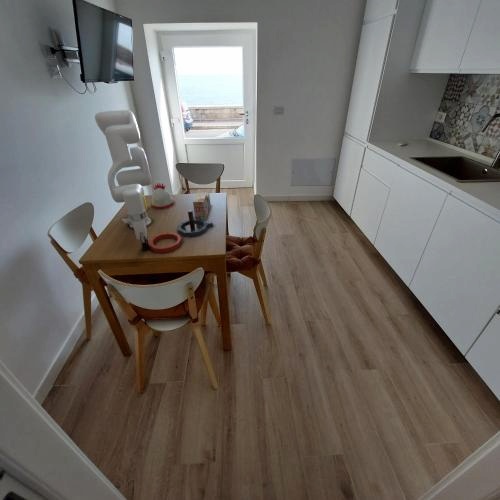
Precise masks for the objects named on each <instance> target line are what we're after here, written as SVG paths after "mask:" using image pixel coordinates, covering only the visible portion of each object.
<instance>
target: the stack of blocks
mask: <svg viewBox="0 0 500 500" xmlns="http://www.w3.org/2000/svg"><path fill="white" fill-rule="evenodd" d="M192 205H193V214H194V219H199V220H203V221H207V217H208V215H209V211H210V209H211V197H210V192H199V193H196V194H195V197H194V198H193V200H192Z"/></svg>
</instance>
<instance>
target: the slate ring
mask: <svg viewBox="0 0 500 500" xmlns="http://www.w3.org/2000/svg"><path fill="white" fill-rule="evenodd" d="M197 223H198V224H199V226H202V227H200V228H201V229H199V230H197V231H186V230H184V228H185V226H186V225H190V223H189V219H187V220H184V221H182V222H180V223H179V224H178V226H177V231H178V235H180V236H183V237H189V238H192V237H197V236H202V235H203V234H205V233H206V231H207V230H208V228H212V227H214V225H213V224H214V223H213V221H207V222H206V220H199V219H195V218H194V224H197Z"/></svg>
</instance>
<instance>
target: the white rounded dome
mask: <svg viewBox="0 0 500 500" xmlns="http://www.w3.org/2000/svg"><path fill="white" fill-rule="evenodd" d="M152 188H153V189H154V190H153V192H152V194H151V207H152V208H153V209H156V210H164V209H165V210H166V209H168V208H171V207H172V206H174V199H173V197H172V195H171V193H170V192H169V191H168V190H167V189H166V185H164V183H160V182H159V183H158V182H157V183H156V184H154V185H153V186H152Z"/></svg>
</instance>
